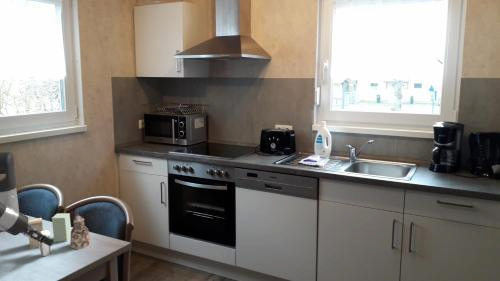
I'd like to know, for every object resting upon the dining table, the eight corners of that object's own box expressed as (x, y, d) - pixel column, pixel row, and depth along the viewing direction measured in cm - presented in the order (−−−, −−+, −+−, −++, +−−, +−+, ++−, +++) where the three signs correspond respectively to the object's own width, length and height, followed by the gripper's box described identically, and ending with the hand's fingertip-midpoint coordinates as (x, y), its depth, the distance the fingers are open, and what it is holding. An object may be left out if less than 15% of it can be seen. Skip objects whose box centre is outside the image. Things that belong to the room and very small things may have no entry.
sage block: (59, 236, 168) (56, 213, 167) (71, 236, 169) (69, 213, 167) (54, 241, 164) (51, 218, 162) (66, 241, 164) (64, 217, 162)
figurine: (70, 250, 156) (67, 220, 154) (70, 242, 163) (68, 214, 160) (90, 247, 159) (88, 217, 156) (90, 239, 165) (87, 211, 163)
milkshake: (37, 253, 154) (34, 228, 152) (52, 250, 155) (50, 226, 154) (35, 258, 149) (32, 232, 148) (51, 255, 151) (49, 230, 150)
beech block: (29, 244, 162) (27, 220, 160) (44, 241, 164) (41, 217, 162) (30, 248, 157) (27, 224, 155) (44, 246, 160) (42, 222, 158)
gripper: (24, 215, 139) (63, 238, 150) (10, 206, 148) (47, 227, 159) (9, 235, 136) (50, 256, 147) (-5, 224, 145) (34, 244, 156)
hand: (48, 241), depth 153 cm, fingers closed on milkshake, 4 cm apart
